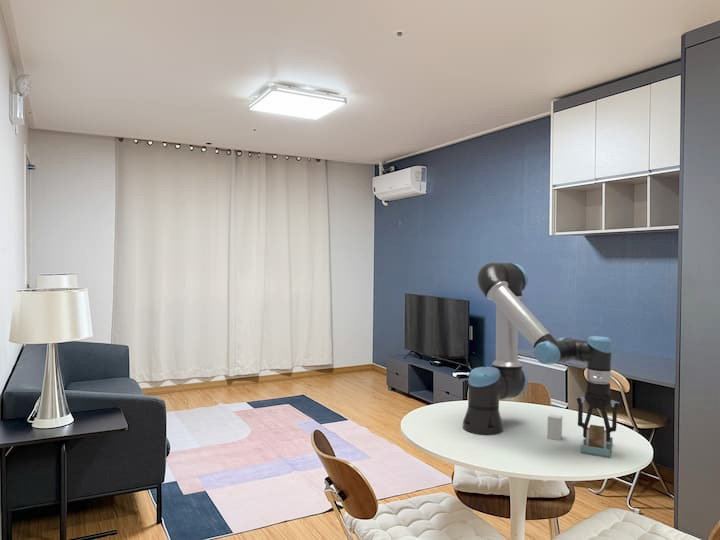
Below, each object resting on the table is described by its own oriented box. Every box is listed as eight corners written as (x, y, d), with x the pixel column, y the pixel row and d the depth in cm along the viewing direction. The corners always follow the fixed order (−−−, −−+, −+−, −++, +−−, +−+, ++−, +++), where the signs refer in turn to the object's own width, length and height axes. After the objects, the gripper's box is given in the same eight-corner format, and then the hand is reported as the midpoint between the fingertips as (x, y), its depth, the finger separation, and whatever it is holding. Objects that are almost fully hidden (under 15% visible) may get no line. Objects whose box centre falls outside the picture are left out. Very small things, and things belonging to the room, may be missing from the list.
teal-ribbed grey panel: (580, 453, 188) (581, 445, 188) (585, 440, 202) (585, 433, 202) (609, 458, 183) (609, 450, 183) (612, 444, 198) (612, 437, 197)
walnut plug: (588, 450, 188) (589, 427, 188) (589, 447, 192) (590, 424, 192) (602, 453, 186) (603, 430, 186) (603, 449, 190) (604, 426, 190)
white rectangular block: (547, 438, 203) (547, 416, 203) (549, 434, 207) (549, 413, 207) (559, 440, 201) (560, 418, 201) (561, 436, 205) (562, 415, 205)
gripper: (569, 380, 190) (567, 447, 190) (626, 387, 181) (624, 456, 182) (572, 376, 196) (570, 441, 197) (627, 382, 188) (625, 450, 188)
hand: (596, 448), depth 189 cm, fingers open, 5 cm apart
